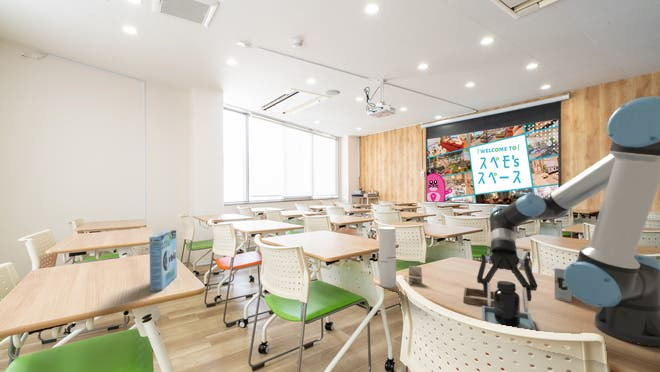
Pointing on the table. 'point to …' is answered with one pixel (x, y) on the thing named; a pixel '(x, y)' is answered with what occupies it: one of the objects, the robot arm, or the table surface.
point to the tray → (488, 316)
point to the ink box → (561, 284)
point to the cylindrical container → (387, 257)
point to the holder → (477, 300)
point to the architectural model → (415, 274)
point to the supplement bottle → (506, 304)
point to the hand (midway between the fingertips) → (507, 307)
